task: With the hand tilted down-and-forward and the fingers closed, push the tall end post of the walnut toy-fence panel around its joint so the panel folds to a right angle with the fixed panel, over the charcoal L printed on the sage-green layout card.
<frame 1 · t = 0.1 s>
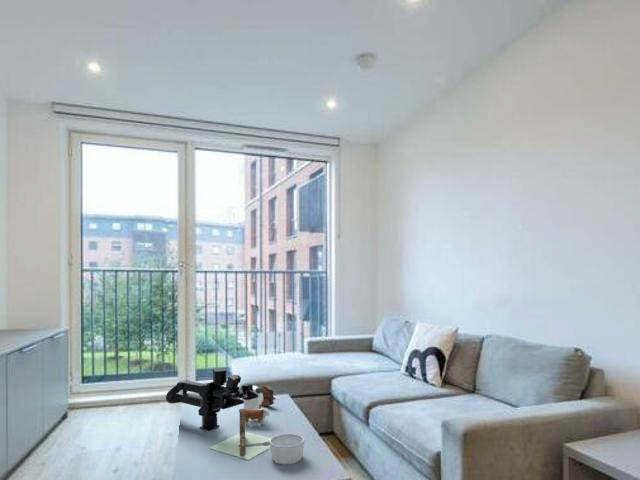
hand: (250, 399, 178), 16 cm above the table, tool horizontal, fingers open, 9 cm apart
layout card: (245, 445, 171), on the table
fence swing panel: (242, 425, 176), point 6 cm above the table, hinge at 0.0°
ramekin: (287, 459, 158), on the table
fence fixed panel: (242, 446, 169), resting on layout card
white rounded piece: (252, 417, 203), on the table
bull figurine: (256, 425, 192), on the table
wooden carving: (264, 405, 221), on the table
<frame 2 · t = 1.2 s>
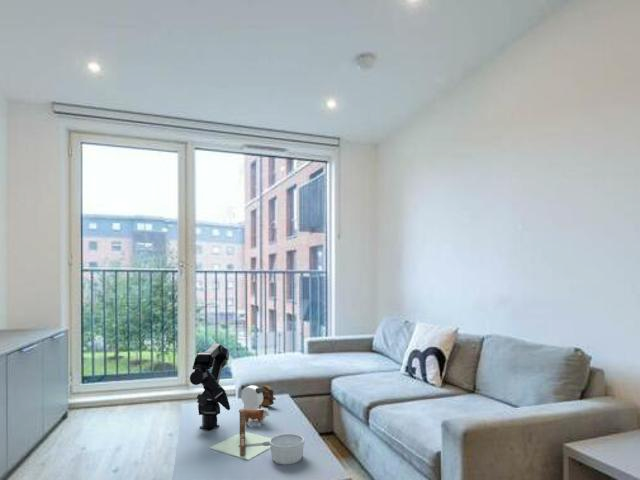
hand: (229, 409, 180), 11 cm above the table, tool tilted 40°, fingers open, 9 cm apart
nothing on the table moved.
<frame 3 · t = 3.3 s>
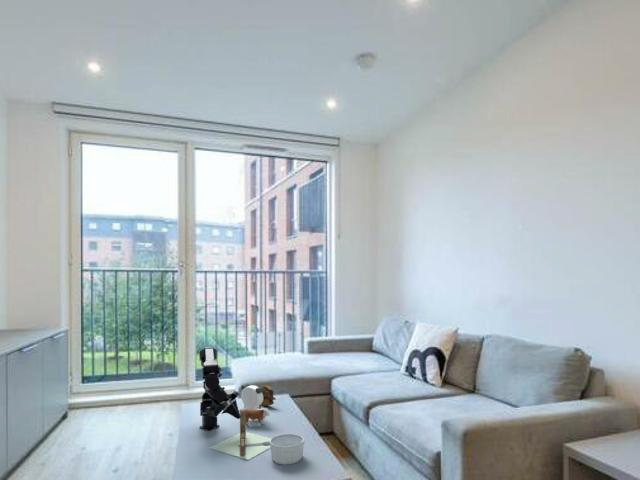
hand: (239, 418, 179), 8 cm above the table, tool tilted 45°, fingers closed, pressing on fence swing panel
fence swing panel: (242, 425, 176), point 6 cm above the table, hinge at -1.3°, touching gripper
everything else where it was.
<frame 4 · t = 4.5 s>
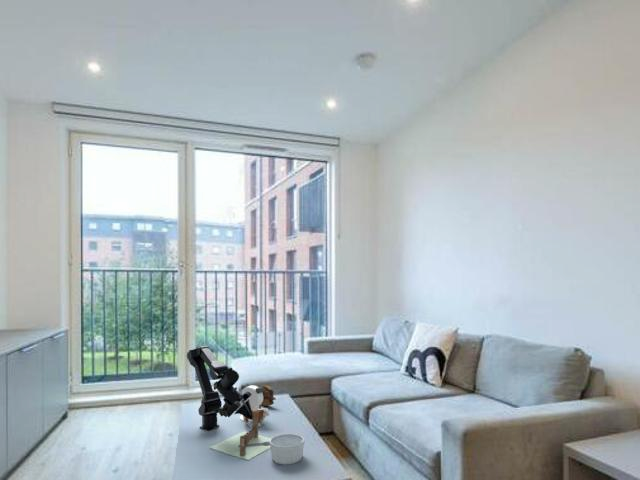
hand: (252, 418, 179), 8 cm above the table, tool tilted 45°, fingers closed, pressing on fence swing panel
fence swing panel: (250, 425, 175), point 6 cm above the table, hinge at -33.0°, touching gripper
everything else where it was.
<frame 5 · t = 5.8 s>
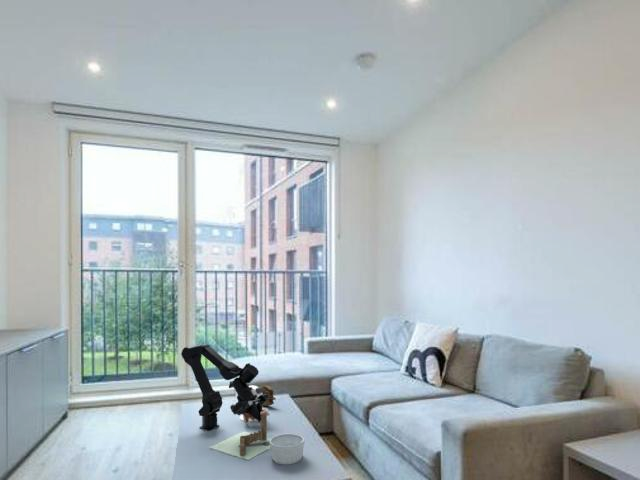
hand: (261, 420, 176), 8 cm above the table, tool tilted 45°, fingers closed, pressing on fence swing panel
fence swing panel: (256, 427, 173), point 6 cm above the table, hinge at -62.3°, touching gripper
everything else where it was.
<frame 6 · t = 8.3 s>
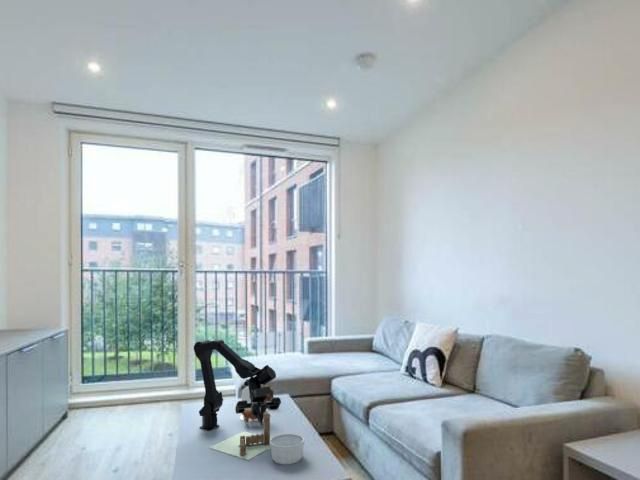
hand: (261, 424, 171), 8 cm above the table, tool tilted 45°, fingers closed
fence swing panel: (258, 429, 171), point 6 cm above the table, hinge at -84.9°, touching gripper
everything else where it was.
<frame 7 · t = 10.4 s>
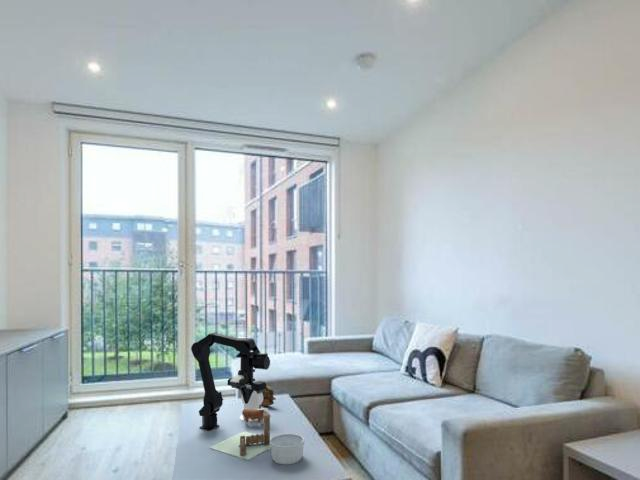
hand: (246, 403, 185), 13 cm above the table, tool pointing down, fingers closed
fence swing panel: (258, 429, 171), point 6 cm above the table, hinge at -85.3°
everything else where it was.
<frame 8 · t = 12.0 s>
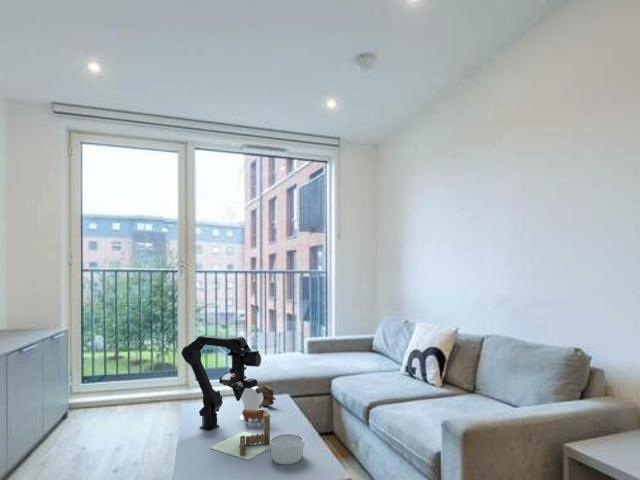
hand: (238, 400, 187), 13 cm above the table, tool pointing down, fingers closed
nothing on the table moved.
at the end: fence swing panel at -85° (first picture: +0°) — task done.
